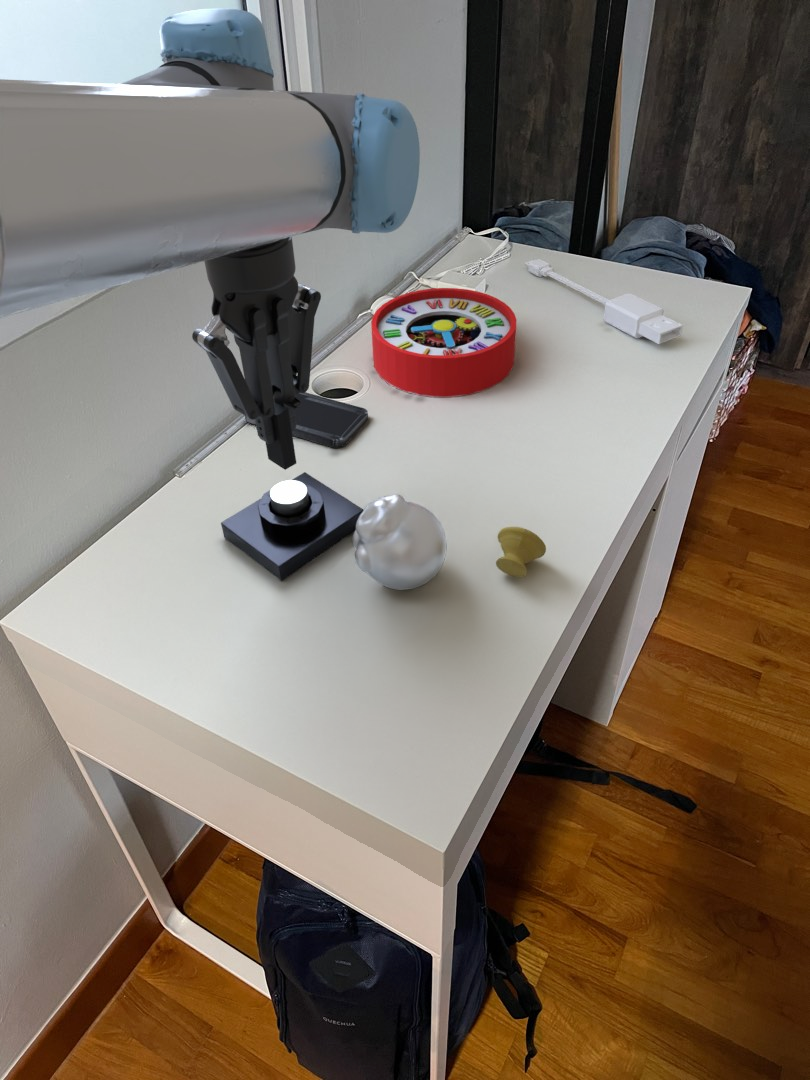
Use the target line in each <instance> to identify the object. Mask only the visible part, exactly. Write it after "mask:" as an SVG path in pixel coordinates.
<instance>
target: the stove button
mask: <svg viewBox="0 0 810 1080" xmlns="http://www.w3.org/2000/svg"><path fill="white" fill-rule="evenodd" d="M270 490H271V491H270ZM270 490H269V491H270V499H271V504H272V510H273V512H274V513H275V514H276V515H277V516H279V517H285V518H291V517H296V516H300V515H302V514H304V513H305V512H307V510H308V509H309V506H310V503H309V497H308V490H307V487H306V485H305V484H303V483H302V482H299V481H295V480H292V479H288V480H283V481H280V482H278V483H276V484H275V485H273V486H272V487H271V489H270Z"/></svg>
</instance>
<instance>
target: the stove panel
mask: <svg viewBox="0 0 810 1080" xmlns="http://www.w3.org/2000/svg"><path fill="white" fill-rule="evenodd" d="M291 480H295V481H299V482H302V483H303V484H305V485H306V487H307V490H308V497H309V503H310V506H309V509H308V510H307V512H305V513H304V514H302V515H300V516H296V517H291V518H285V517H279V516H277V515H276V514H275V513H274V512H273V510H272V504H271V499H270V491H271V489H269V490H268V491H266V492H264V493H263V495H262V497H261V498H259V499H258V500H256V501H255V502H253V503H251V504H250V505H248V506H246V507H245V508H243V509H241V510H239V511H238V512H236V513H234V514H232V515H231V516H229V517H228V518H227V519H225V520H223V521H221V522H220V525H221V529H222V534H223V538H225V539H226V540H227V541H228V542H229V543H231V544H232V545H234V546H235V547H236V548H237V549H238V550H240V551H242V552H243V553H244V554H245V555H246V556H248V557H249V558H250V559H252V560H253V561H254V562H256V563H257V564H259V566H261V567H262V568H263V569H265V570H266V571H267V572H268V573H270V574H271V575H273V576H274V577H276V578H277V579H278V580H279V581H281V582H283V581H285V580H286V579H287V578H289V577H290V576H292V575H293V574H295V573H297V571H299V570H300V569H302V568H304V567H305V566H307V565H308V564H309V563H311V562H312V561H314V560H315V559H317V558H318V557H319V556H321V555H323V554H324V553H325V552H327V551H328V550H330V549H332V548H333V547H334V546H336V545H337V544H339V543H340V542H342V541H343V540H345V539H346V538H348V537H349V536H351V535H353V534H354V531H355V530H356V522H357V520H358V518H359V516H360V515H361V513H362V512H363V510H364V508H362V507H361V506H359V505H357V504H356V503H354V502H353V501H351V500H350V499H348V498H347V497H344V496H343V495H342V494H340V493H339V492H337V491H336V490H334V489H332V488H331V487H329V486H327V485H325V484H324V483H323V482H322V481H320V480H318V479H316V478H315V477H313V476H312V475H311V474H309V473H307V472H302V473H300V474H298V475H297V476H296V477H294V478H293V479H291Z"/></svg>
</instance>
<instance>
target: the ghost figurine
mask: <svg viewBox="0 0 810 1080" xmlns="http://www.w3.org/2000/svg"><path fill="white" fill-rule="evenodd" d="M352 544H353V547H354V548H355V550H354V561H355V563H356V566H357V567H358V569H359V570H361V571H362V572H364V573H367V574H368V575H369V576H370V577H371V578H372V579H373V580H374V581H375V582H377V584H380V585H381V586H383V587H385V588H386V587H387V588H389V589H392V590H397V591H398V590H399V591H400V590H401V591H405V590H407V591H408V590H412V589H416V588H419V587H421V586H423V585H425V584H427V583H428V582H430V581H431V580H432V579H433V578H434V577H435V576H436V575H437V574H438V573H439V571H440V570H441V568H442V567H443V564H444V561H445V558H446V555H447V548H448V547H447V545H448V544H447V536H446V533H445V530H444V527H443V524H442V523H441V521H440V520H439V518H438V517H437V516H436V515H435V514H434V513H433V512H432V511H431V510H429V509H428V508H426V507H424V506H423V505H421V504H418V503H415V502H412V501H408V500H406V499H405V498H404V496H402V495H400V494H399V493H398V494H397V493H396V494H390V495H387V496H382V497H379V498H376V499H374V500H373V501H371V502H370V503H368V504H367V506H366V507H365V508H363V512H362V513H361V515H360V516H359V518H358V520H357V522H356V530H355V531H354V532H353V533H352Z"/></svg>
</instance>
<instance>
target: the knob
mask: <svg viewBox="0 0 810 1080" xmlns="http://www.w3.org/2000/svg"><path fill="white" fill-rule="evenodd" d="M497 541H498V543H499V545H500V548H501V550H502V552H503V555H504V556H501V557H499V558H498V559H497V560H496V561H495V565H496V567H497V568H498V569H499V571H501V572H503V573H504V574H506V575H507V576H511V577H514V578H515V577H516V578H523V577H525V576H527V574H528V570H527V567H526V565H525V564H528V563H530V562H533V561H535V560H537V559H541V558H542V557H543V556H545V554H546V552H547V546H546V544H545V542H544V541H543V539H542V538H541V537H540V536H539V535H537V534H536V533H534V532H533V531H531V530H530V529H527V528H524V527H520V526H507V527H506V526H505V527H503V528H500V530H499V531H498V533H497Z"/></svg>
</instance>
